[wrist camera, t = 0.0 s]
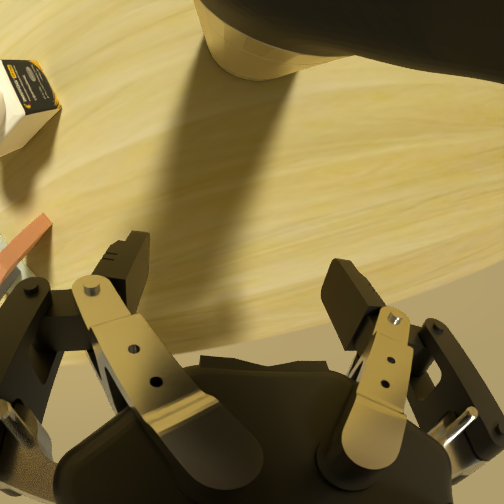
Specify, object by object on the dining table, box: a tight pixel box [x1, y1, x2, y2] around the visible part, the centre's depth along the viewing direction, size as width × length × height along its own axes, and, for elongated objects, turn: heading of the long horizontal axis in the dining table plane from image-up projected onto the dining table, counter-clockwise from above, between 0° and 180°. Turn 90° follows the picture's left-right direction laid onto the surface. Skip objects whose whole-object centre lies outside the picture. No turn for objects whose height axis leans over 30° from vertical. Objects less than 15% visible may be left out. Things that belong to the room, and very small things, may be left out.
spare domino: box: [0, 213, 52, 285], centre depth 24 cm, size 2×5×10 cm, turn 123°
